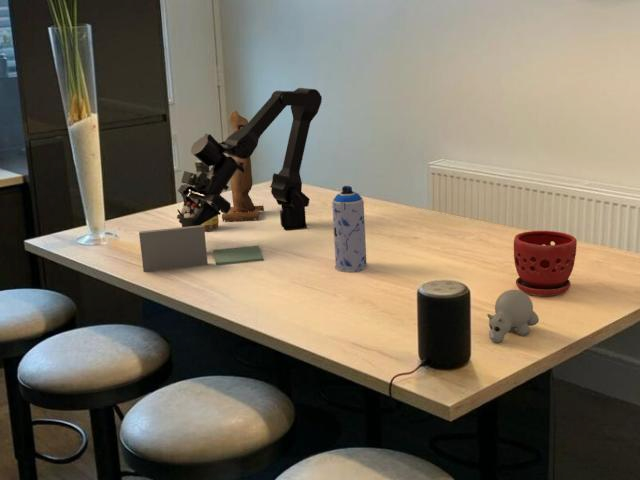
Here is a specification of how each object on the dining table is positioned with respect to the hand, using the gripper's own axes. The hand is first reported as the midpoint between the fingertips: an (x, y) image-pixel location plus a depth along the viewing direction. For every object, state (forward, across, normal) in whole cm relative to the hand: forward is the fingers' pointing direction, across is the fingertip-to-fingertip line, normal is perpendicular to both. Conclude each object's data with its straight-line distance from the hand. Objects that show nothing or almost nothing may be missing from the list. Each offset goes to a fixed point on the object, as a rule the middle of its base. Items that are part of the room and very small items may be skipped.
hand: (186, 225), depth 247 cm
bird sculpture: (-16, -21, +27) cm, 38 cm away
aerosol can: (-10, +41, +21) cm, 47 cm away
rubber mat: (0, +12, +11) cm, 16 cm away
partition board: (+11, +8, -1) cm, 14 cm away
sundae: (+4, 0, +6) cm, 8 cm away
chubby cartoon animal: (-6, +97, +18) cm, 99 cm away
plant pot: (-24, +84, +35) cm, 94 cm away
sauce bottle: (-6, -17, +17) cm, 25 cm away
